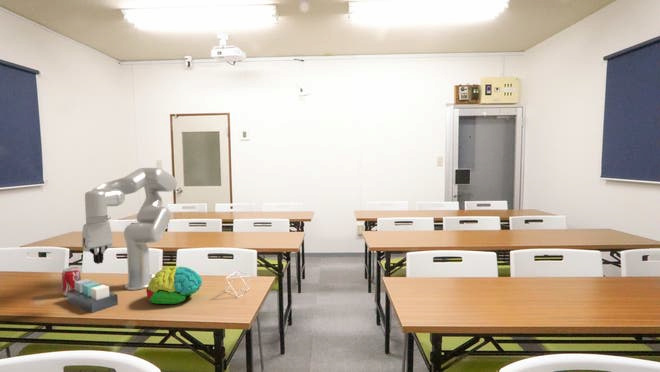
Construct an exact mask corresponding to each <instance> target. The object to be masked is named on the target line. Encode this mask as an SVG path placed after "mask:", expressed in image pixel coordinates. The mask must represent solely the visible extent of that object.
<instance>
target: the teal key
mask: <svg viewBox="0 0 660 372" xmlns="http://www.w3.org/2000/svg"><path fill="white" fill-rule="evenodd" d="M100 285H102V284H101V283H100V282H97V281H92V282H91V283H87V284H83V285H82V289H83V295H84V296H87V297H88V296H91V289H90V288H93V287H96V286H100Z"/></svg>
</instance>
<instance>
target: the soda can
mask: <svg viewBox="0 0 660 372" xmlns="http://www.w3.org/2000/svg"><path fill="white" fill-rule="evenodd" d="M80 280H82V279H81V271H80V269H79V267H68V268H65V269H63V270H62V273H61V289H62V295H63V296H66V297H67V291H70V290H74V289H75V282H76V281H80Z"/></svg>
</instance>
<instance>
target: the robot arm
mask: <svg viewBox="0 0 660 372" xmlns="http://www.w3.org/2000/svg"><path fill="white" fill-rule="evenodd" d="M177 186H178V182H177V180H176V178H175V177H174V175H172V174H171V173H169V172H167V171H165V170H164V169H162V168H159V167H140V168H138V169H136V170H134V171H132V172H130V173H129V174H127V175H126V176H123V177H121V178H117V179H114V180H111V181H107V182H105V183H102V184H99V185H98V186H96V187H94V188H92V190H89V191H86V192H85V194H84V206H85V208H84V209H85V211H84V212H85V224H83V227H82V234H81V246H82V247H83V248H82V252H85V253H87V252H89V253H91V254H92V256H93V262H94V263H95V264H96V265H99V264H103V261H104V254H105V251H106V250H107V249H109V248H112V247H113V244H112V243H113V234H112V227H111V224H110V222H109V220H110V219H111V215H108V207H118V206H120V205H123V203H124V202H125V200H126V196H125V195H130V194H133V193H136V192H138V191H140V190H141V189H142V188H144V192H145V199H144V202H143V203H142V205H141V207H140V209H139V211H138V213H137V214H136V221H137V223H135V222H134V223H130V224H128V225H127V226H126V227H125V228H124V231H123V237H124V240H125V244H126V253H127V257H126V259H127V276H128V277H127V281H128V282H127V283H125V284H124V288H125V290H127V291H128V290H130V291H137V290H143V289H147V287H148V285H149V283H150V281H151V280H152V278H153V277H154V276H155V275H156V274H157V273H155V274H154V273H152V274H151V271H150V269H151V268H150V249H149V246H148V244H152V243H154V244H155V243H158V242H159V241H160V240H161V239H162V237H163V235H164V234H165V232H166V229H168V226H169V223H170V221H171V211H170V209H169V207H165V206H163V199H162V196H160V193H159V192H163V193H164V192H173V191H175V190H176V188H177Z"/></svg>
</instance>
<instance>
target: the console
mask: <svg viewBox="0 0 660 372" xmlns="http://www.w3.org/2000/svg"><path fill="white" fill-rule="evenodd" d="M66 300H67V302H68V303H70V304H72V305H74V306H76V307H79V308H81V309H83V310H84V311H87V312H90V313H91V314H93V313H97V312H99V311H103V310H105V309H109V308H111V307H115V306H118V304H119V303H118V301H119V300H118V293H115V292H112V291H110V290H109V296H108V297H105V298H101V299H98V300H94V299H91V296H88V297H87V296H84V295H83V292H82V293H77V292H75V289H74V290H70V291H67V296H66Z"/></svg>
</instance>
